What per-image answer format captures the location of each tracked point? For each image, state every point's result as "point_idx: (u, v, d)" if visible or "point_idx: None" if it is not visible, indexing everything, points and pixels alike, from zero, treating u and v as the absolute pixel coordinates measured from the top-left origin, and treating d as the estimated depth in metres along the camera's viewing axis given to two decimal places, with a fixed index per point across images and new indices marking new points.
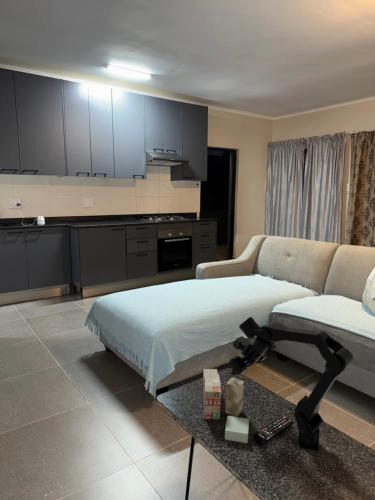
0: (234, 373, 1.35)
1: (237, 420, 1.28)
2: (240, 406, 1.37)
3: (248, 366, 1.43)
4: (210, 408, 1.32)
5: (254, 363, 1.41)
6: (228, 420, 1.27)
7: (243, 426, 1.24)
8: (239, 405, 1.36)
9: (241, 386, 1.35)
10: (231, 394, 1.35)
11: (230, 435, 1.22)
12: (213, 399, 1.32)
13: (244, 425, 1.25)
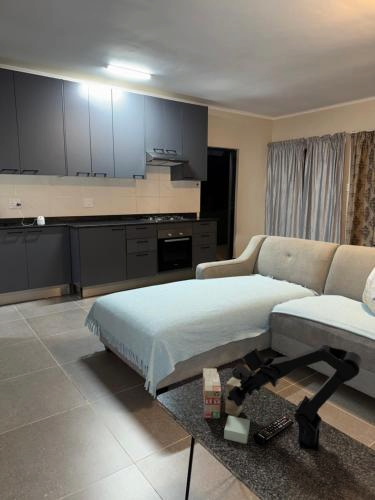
0: (231, 399, 1.33)
1: (238, 420, 1.27)
2: (240, 406, 1.37)
3: None
4: (210, 407, 1.33)
5: None
6: (228, 420, 1.28)
7: (243, 426, 1.24)
8: None
9: None
10: None
11: (229, 434, 1.22)
12: (213, 398, 1.32)
13: (244, 425, 1.25)
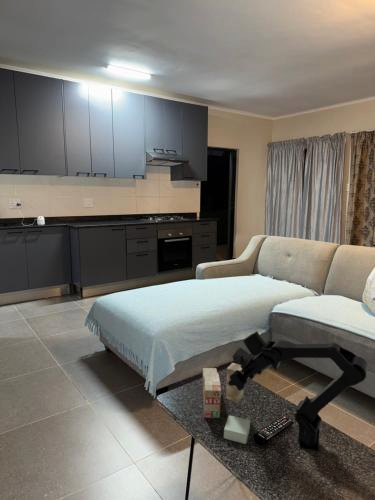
0: (232, 384, 1.32)
1: (238, 420, 1.27)
2: (241, 391, 1.35)
3: None
4: (210, 407, 1.33)
5: None
6: (229, 419, 1.28)
7: (243, 426, 1.24)
8: None
9: None
10: None
11: (229, 434, 1.23)
12: (213, 397, 1.32)
13: (244, 425, 1.25)
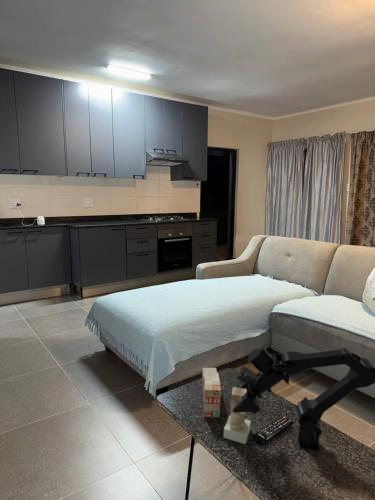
0: (239, 410, 1.18)
1: None
2: None
3: None
4: (210, 407, 1.34)
5: None
6: (229, 419, 1.28)
7: None
8: None
9: None
10: None
11: (228, 434, 1.23)
12: (213, 397, 1.33)
13: (244, 426, 1.25)
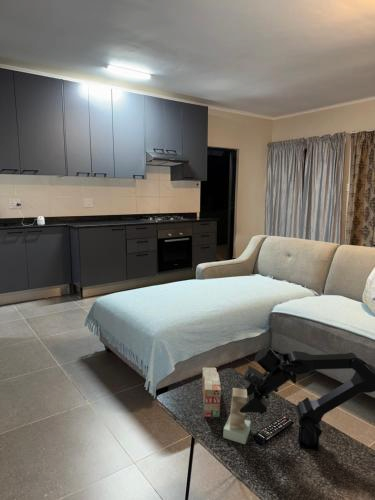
0: (246, 411, 1.18)
1: None
2: None
3: None
4: (210, 406, 1.34)
5: None
6: (229, 419, 1.28)
7: None
8: None
9: None
10: (238, 407, 1.21)
11: (228, 434, 1.23)
12: (213, 396, 1.33)
13: (244, 426, 1.24)
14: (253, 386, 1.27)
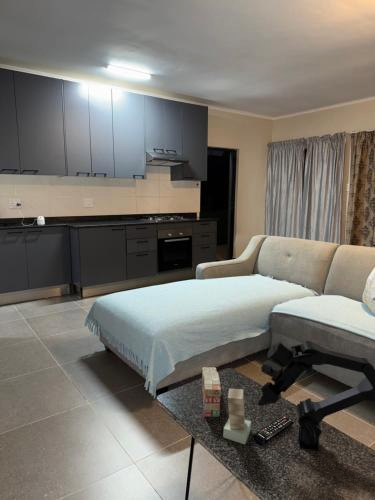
0: (263, 403, 1.19)
1: None
2: (244, 416, 1.24)
3: None
4: (210, 406, 1.34)
5: (280, 391, 1.26)
6: (229, 419, 1.28)
7: None
8: None
9: (243, 395, 1.22)
10: (235, 408, 1.20)
11: (228, 434, 1.23)
12: (213, 396, 1.33)
13: None
14: None
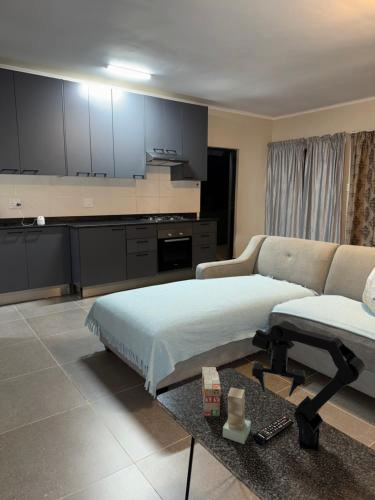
0: None
1: None
2: (243, 417, 1.24)
3: (289, 394, 1.26)
4: (210, 406, 1.34)
5: (291, 387, 1.25)
6: None
7: None
8: (243, 416, 1.23)
9: (243, 396, 1.22)
10: (234, 407, 1.21)
11: (227, 433, 1.23)
12: (213, 396, 1.33)
13: (244, 426, 1.25)
14: (291, 381, 1.26)
